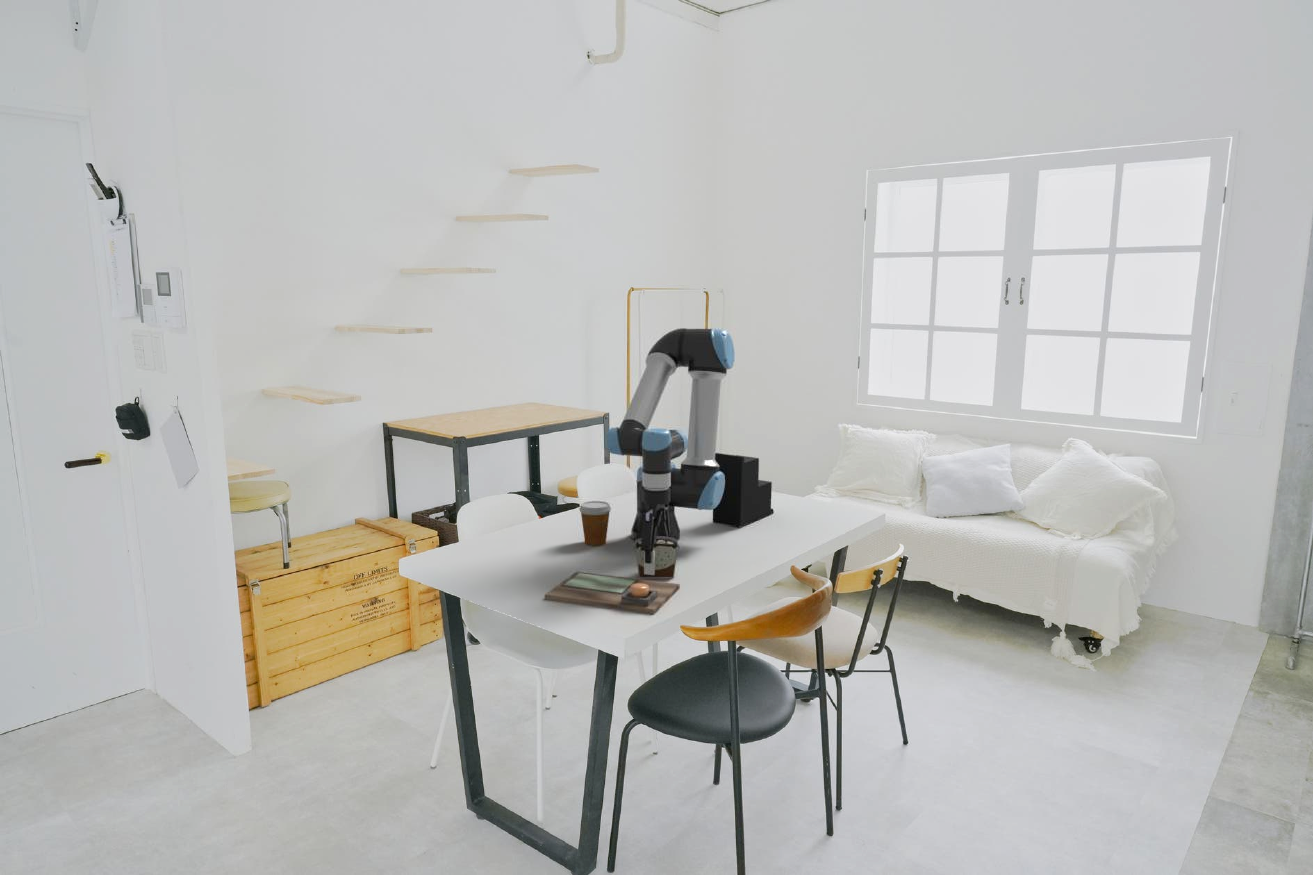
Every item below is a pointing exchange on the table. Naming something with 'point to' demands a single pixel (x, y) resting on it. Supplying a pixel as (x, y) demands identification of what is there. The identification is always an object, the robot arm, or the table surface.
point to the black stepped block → (742, 491)
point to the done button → (639, 590)
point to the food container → (659, 557)
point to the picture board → (612, 592)
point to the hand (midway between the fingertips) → (656, 568)
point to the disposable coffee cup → (595, 521)
